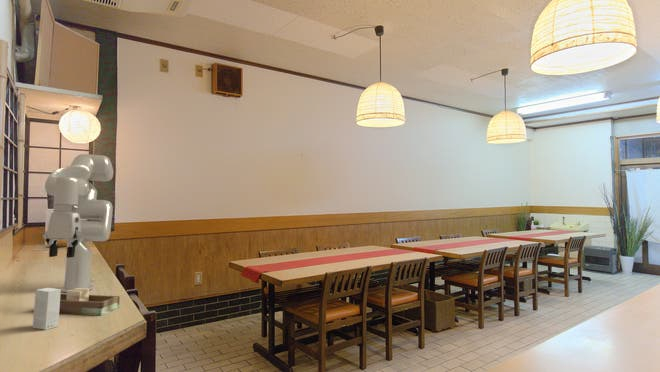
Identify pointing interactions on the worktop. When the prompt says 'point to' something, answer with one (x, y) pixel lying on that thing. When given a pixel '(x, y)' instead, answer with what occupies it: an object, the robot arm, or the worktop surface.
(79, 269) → the robot arm
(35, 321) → the skincare box
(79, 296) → the birch block
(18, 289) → the worktop surface
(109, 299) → the channel
